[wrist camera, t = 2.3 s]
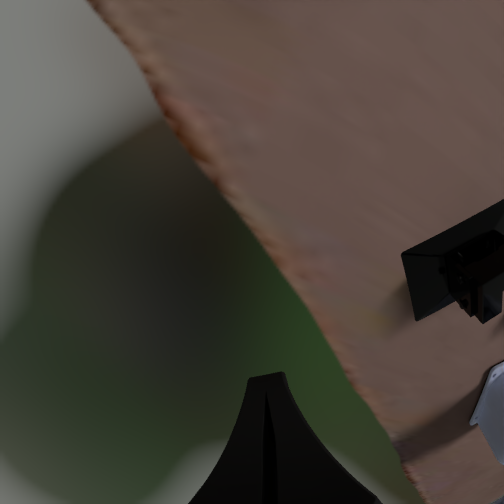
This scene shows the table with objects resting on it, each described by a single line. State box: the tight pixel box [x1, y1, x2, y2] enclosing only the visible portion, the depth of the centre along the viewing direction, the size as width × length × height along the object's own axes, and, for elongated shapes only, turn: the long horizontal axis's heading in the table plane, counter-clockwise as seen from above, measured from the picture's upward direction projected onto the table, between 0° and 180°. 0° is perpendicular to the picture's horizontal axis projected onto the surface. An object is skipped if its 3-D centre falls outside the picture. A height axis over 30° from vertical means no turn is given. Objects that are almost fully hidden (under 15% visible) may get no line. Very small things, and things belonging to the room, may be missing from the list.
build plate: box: [401, 199, 504, 324], centre depth 15 cm, size 12×7×5 cm, turn 115°
